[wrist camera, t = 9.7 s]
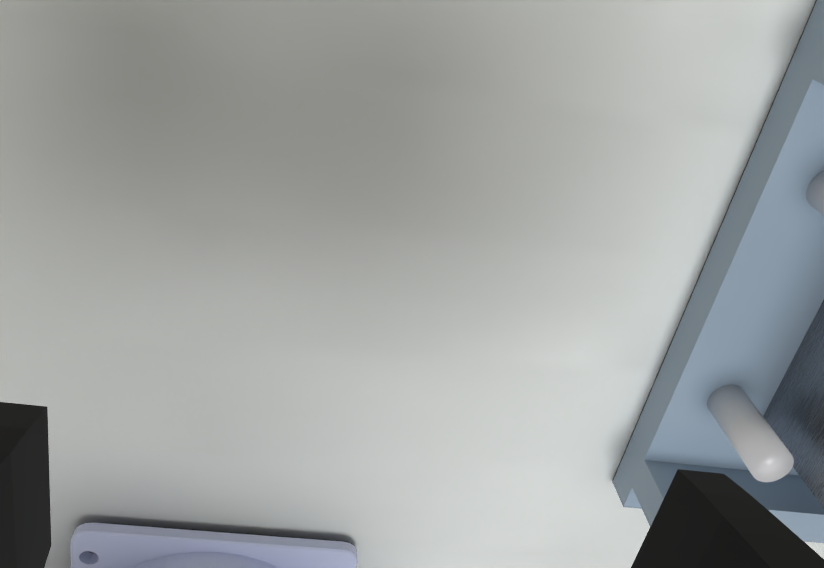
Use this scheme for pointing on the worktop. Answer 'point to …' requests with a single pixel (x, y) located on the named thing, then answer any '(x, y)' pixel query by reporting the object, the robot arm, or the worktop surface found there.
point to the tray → (747, 319)
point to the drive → (803, 408)
